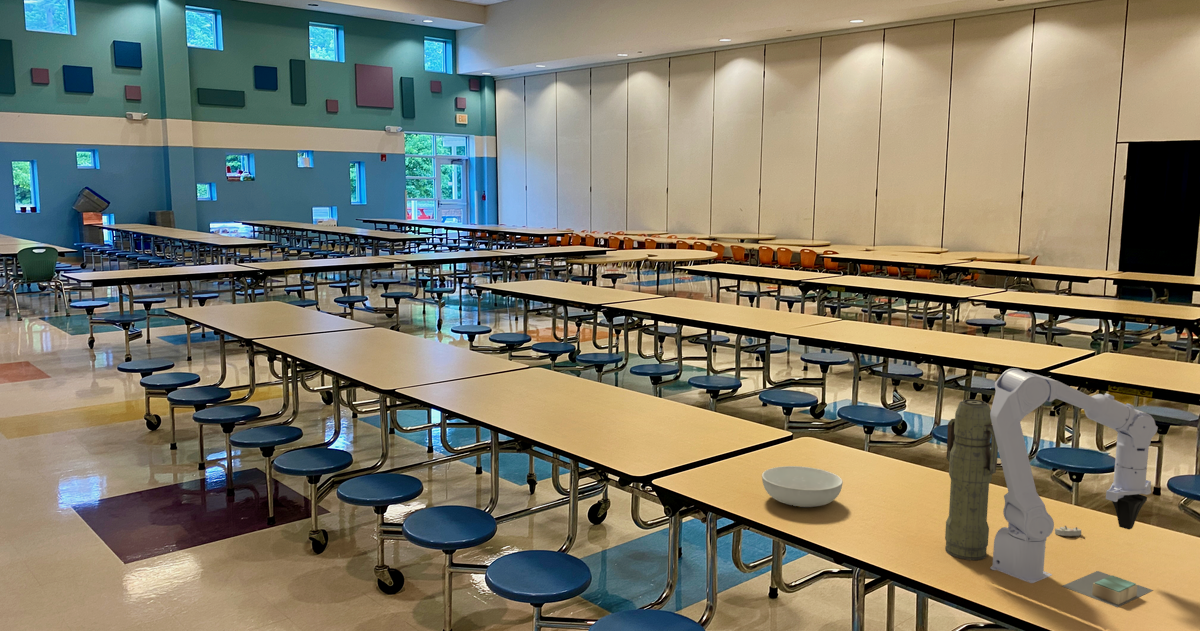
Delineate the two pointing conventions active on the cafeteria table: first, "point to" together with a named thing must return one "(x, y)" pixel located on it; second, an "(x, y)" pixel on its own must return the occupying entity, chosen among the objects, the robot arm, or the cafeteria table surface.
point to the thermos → (970, 479)
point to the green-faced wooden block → (1114, 589)
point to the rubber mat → (1086, 582)
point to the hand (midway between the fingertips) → (1125, 527)
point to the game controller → (1068, 531)
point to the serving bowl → (801, 485)
